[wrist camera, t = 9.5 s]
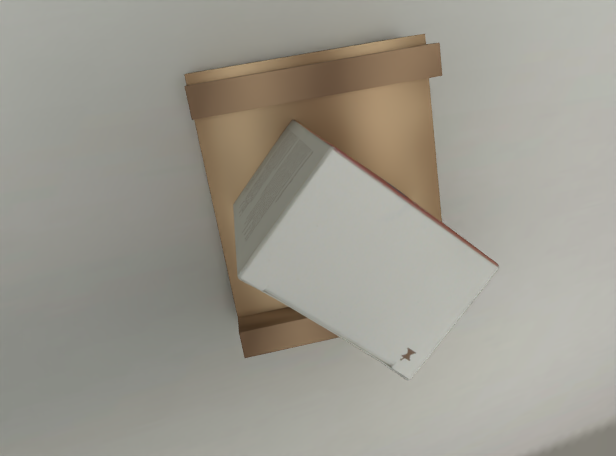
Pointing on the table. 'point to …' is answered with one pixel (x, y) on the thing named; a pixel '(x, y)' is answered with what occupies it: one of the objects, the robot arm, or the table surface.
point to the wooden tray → (325, 123)
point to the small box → (353, 252)
